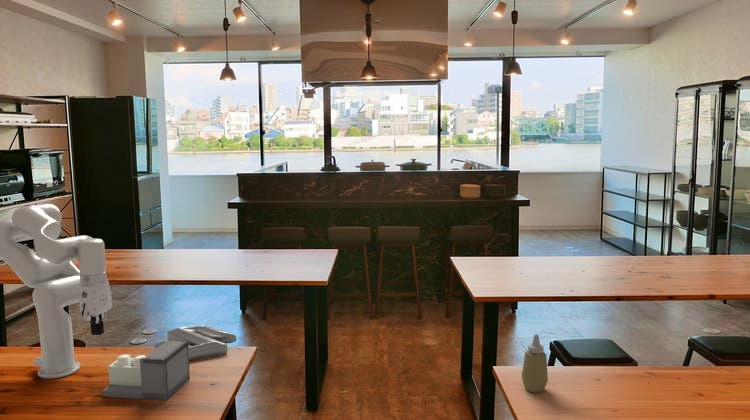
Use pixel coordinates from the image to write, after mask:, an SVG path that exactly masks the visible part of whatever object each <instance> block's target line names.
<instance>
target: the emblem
mask: <svg viewBox="0 0 750 420" xmlns="http://www.w3.org/2000/svg"><path fill="white" fill-rule="evenodd" d="M166 334H167V340H174V341H188V353H189V361H193V360H201V359H205V357H207V358H211V357H210V356H212V357H215V356H214V355H217V356H220V355H219V354H223V355H226V354H225V353H227V354H228V351H229V350H228V345H227V344H232V343H235V342H237V336H236V335H235V334H234V333H230V332H228V331H227V332H226V331H223V330H220V329H218V328H215V327H212V326H207V325H197V326H185V327H177V328H174V329H171V330H167V333H166ZM162 344H163V341H160V342H157V343H156V344H154V350H155V349H157V348H158V347H159V346H161V345H162ZM200 358H201V359H200Z"/></svg>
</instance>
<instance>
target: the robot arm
mask: <svg viewBox="0 0 750 420" xmlns="http://www.w3.org/2000/svg"><path fill="white" fill-rule="evenodd" d="M62 220H63V219H62V213H61V210H60V209H59V207H57V206H56V205H54V204H52V203H41V204H34V205H24V206H20V207H19V208H17V209H15V210H14V212H13V213H12V214H11V217H9V218H4V219H0V259H1V260H2V261H3V262H4V263H6V264H7V265H8V266H9V267H10V268H11V270H12V271H13V272H14V273H15V275H16V276H17V277H18V278H19V279H20V280H21V282H23V284H25V286H27V287H29V288H32V289H33V291H32V294H31V295H32V301H33V304H34V307H35V311H36V315H37V321H38V330H39V332H38V333H39V341H40V342H39V343H40V351H41V356H36V357H35V359H34V361H33V363H32V365H33V366H39V369H38V370H37V376H38V377H39V378H42V379H57V378H62V377H66V376H69V375H72V374H74V373H75V372H77V371H78V370H80V368H81V363H80V361H78V360H76V359H75V348H74V337H73V336H74V334H73V325H72V324H73V323H72V318H71V315H70V314H69V313H68V312H66V311H65V309H64V308H65V307H67V306H70V305H73V304H76V303H79V311H80V315H81V316H82V317H83V320H82V321H83V322H88V324H90V333H91V334H90V335H92V336H101V335H103V334H104V333H105V326H104V321H105V314H106V313H107V312H108V311H109V310H110V309H112V307H113V298H112V291H111V285H110V283H109V282H110V281H109V279H108V275H107V263H106V262H107V261H106V260H107V259H106V248H105V242H104V240H103V239H101V238H94V237H92V236H89V235H85V234H83V235H76V236H70V237H64V238H59V236H60V235H61V233H62V232H61V231H62V226H61V222H62ZM58 238H59V239H58ZM29 240H33V246H34V249H35V251H36V252H35V251H34V250H33V249H31V248H30V247H28V246H27V245H24V244H22V243H19V242H23V241H29ZM74 261H78V267H77V266H76V265H75V264H74V263H73V262H74Z"/></svg>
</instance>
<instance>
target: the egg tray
mask: <svg viewBox="0 0 750 420" xmlns="http://www.w3.org/2000/svg"><path fill="white" fill-rule="evenodd" d="M146 356H147V355H137V356H135V357H131V355H130V354H122V355H119V356H117V359H116V360H115V361H114V362H112V363H111V364H110V365H108V367H107V368H108V380H109V381H108V383H109V385H110V384H113V385H129V386H142V385H141V370H140V358H141V357H146Z"/></svg>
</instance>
